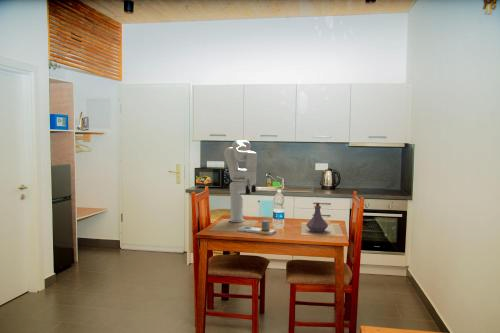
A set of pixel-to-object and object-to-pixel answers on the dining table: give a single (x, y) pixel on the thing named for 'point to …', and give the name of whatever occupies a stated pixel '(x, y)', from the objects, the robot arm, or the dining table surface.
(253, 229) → the white flat tray
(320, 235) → the dining table surface
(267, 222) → the nut block
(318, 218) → the flask
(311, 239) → the dining table surface
